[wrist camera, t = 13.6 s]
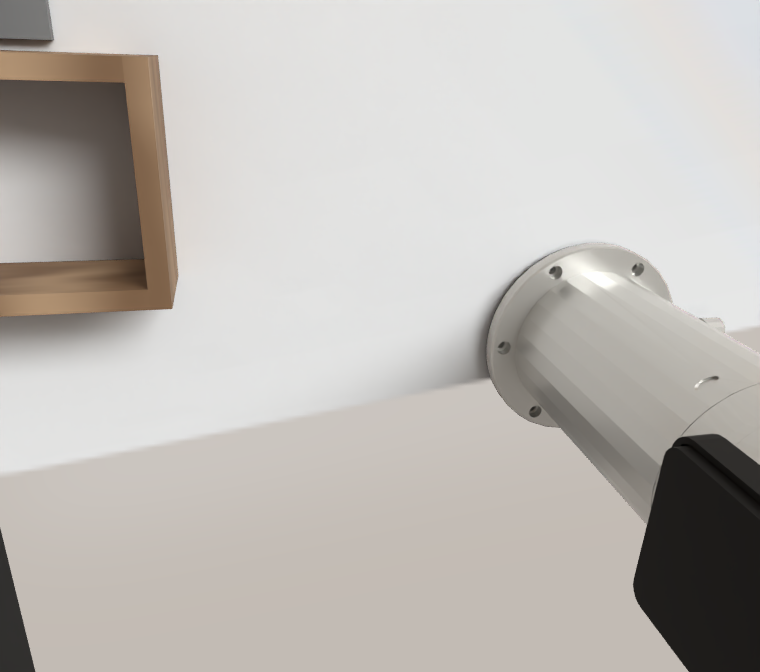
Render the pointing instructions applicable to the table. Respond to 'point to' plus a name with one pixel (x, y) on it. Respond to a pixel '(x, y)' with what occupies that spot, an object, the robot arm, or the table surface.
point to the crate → (159, 267)
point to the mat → (25, 19)
